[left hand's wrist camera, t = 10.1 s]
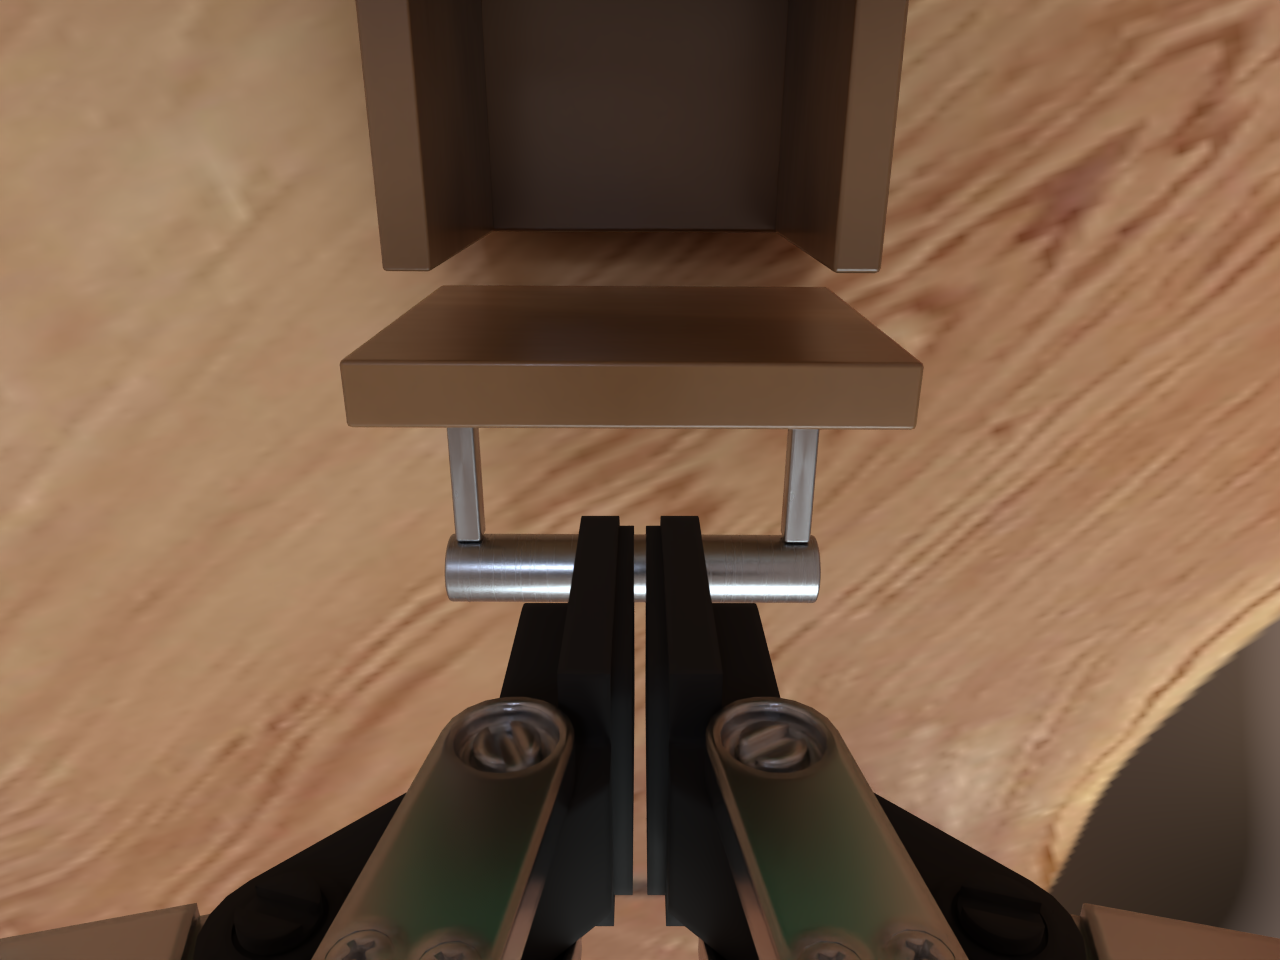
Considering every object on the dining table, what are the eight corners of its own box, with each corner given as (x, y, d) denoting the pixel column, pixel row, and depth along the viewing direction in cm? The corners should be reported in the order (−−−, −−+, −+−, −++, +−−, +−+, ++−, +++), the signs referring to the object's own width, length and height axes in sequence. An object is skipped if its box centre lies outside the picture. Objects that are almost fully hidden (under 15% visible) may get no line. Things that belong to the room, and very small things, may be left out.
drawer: (808, 526, 24) (882, 697, 17) (459, 524, 24) (379, 696, 17) (883, -371, 17) (1071, -762, 10) (388, -374, 17) (194, -769, 10)
